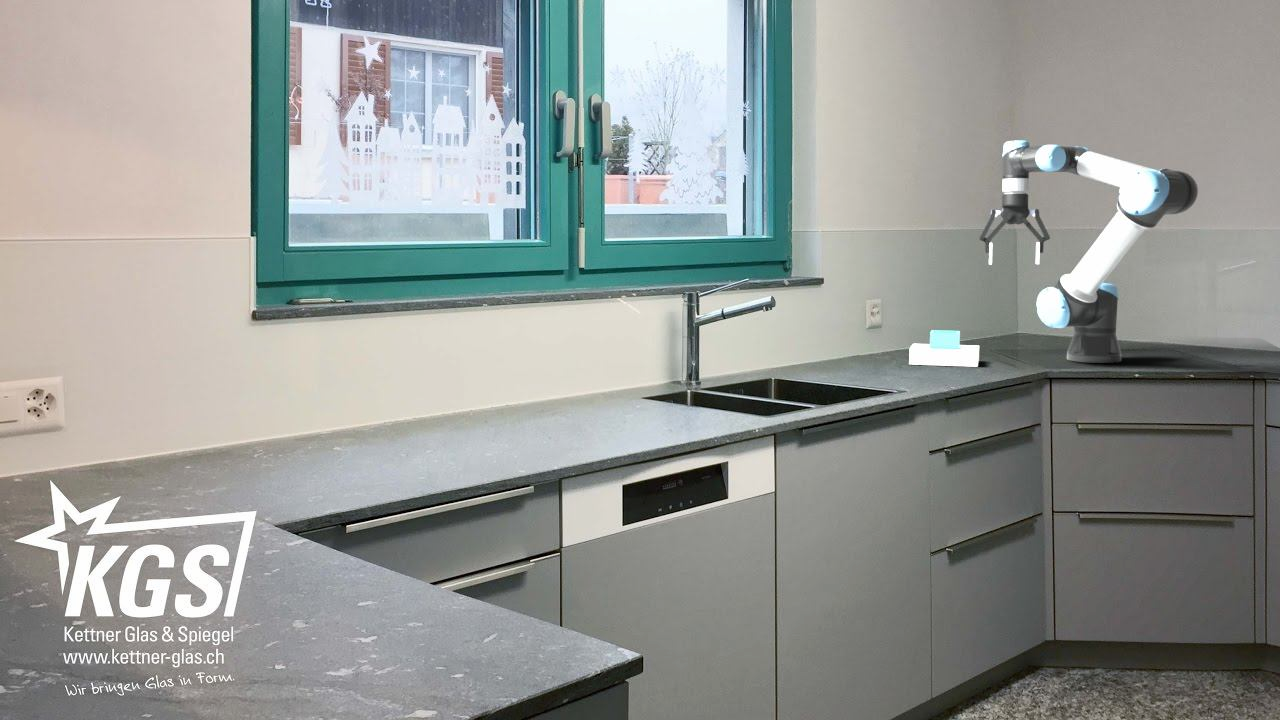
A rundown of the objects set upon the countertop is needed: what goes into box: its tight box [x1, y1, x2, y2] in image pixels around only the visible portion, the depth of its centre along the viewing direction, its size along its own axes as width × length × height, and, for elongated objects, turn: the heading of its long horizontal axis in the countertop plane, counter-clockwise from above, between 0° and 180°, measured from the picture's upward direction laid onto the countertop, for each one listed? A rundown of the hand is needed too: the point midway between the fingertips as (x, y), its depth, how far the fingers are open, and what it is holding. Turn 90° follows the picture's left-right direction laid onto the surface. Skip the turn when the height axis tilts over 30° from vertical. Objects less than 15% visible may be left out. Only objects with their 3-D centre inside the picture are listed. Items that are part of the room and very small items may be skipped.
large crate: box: [908, 343, 980, 368], centre depth 352 cm, size 19×14×4 cm
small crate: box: [929, 329, 961, 350], centre depth 351 cm, size 8×8×8 cm
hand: (1013, 264), depth 364 cm, fingers open, 13 cm apart
